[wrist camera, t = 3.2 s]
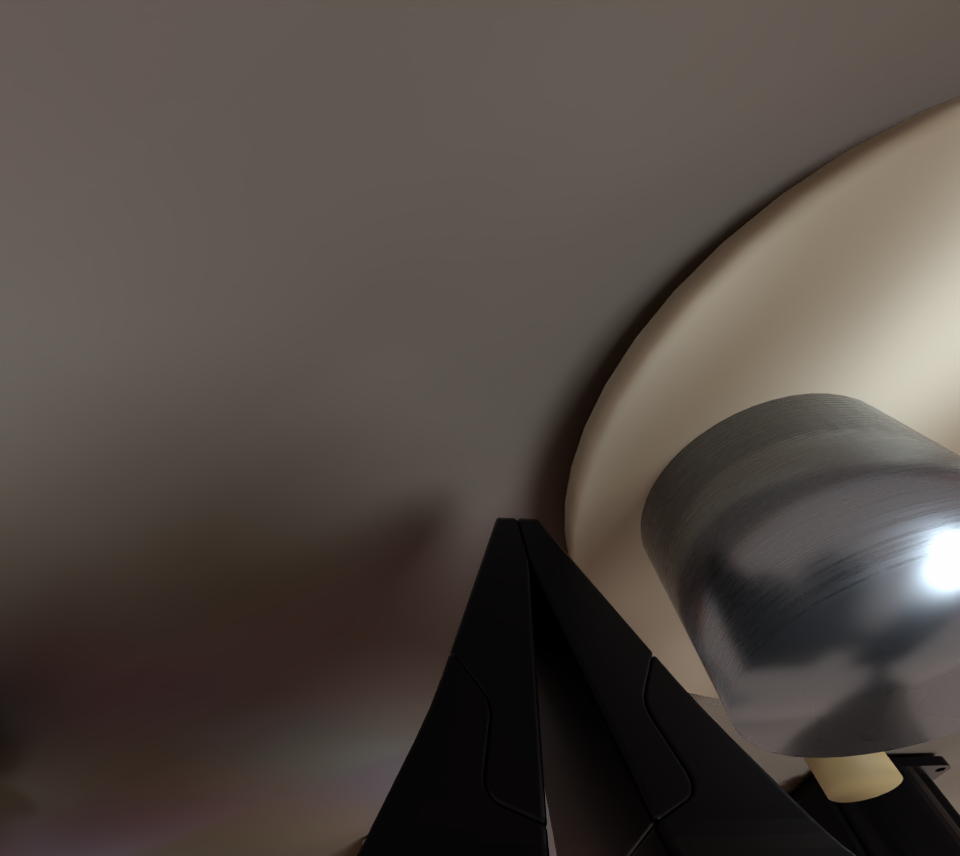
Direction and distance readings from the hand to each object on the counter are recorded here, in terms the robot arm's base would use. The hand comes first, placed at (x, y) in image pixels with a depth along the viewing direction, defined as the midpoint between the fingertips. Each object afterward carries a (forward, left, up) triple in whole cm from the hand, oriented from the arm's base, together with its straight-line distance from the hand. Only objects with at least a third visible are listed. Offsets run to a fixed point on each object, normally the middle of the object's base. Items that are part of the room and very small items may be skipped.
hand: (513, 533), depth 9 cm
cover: (-6, 0, -1) cm, 6 cm away
